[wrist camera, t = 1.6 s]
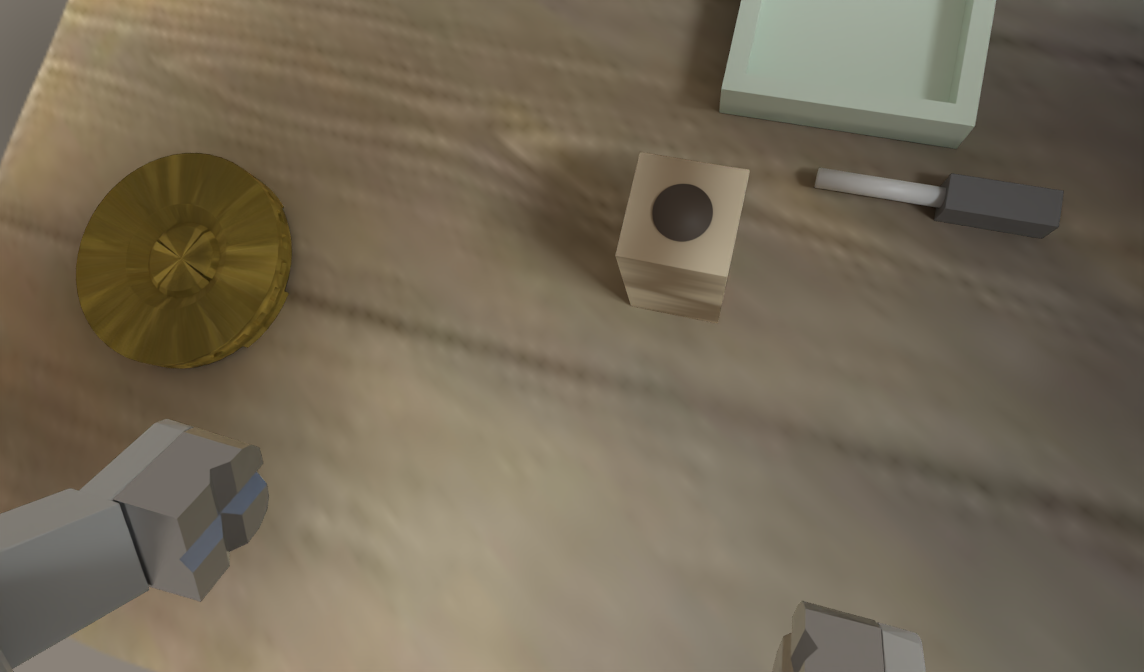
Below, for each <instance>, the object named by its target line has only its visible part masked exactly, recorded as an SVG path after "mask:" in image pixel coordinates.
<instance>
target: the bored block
mask: <svg viewBox="0 0 1144 672" xmlns="http://www.w3.org/2000/svg"><path fill="white" fill-rule="evenodd" d="M749 173H750V170H747V169H740V168H734V167H728V166H722V165H716V164H710V163H704V162H698V161H692V160H686V159H680V158H674V157H668V156H662V155H656V154H650V153H644V152H640V154H639V158H638V162H637V167H636V171H635V175H634V179H633V183H632V187H631V192H630V196H629V200H628V204H627V208H626V213H625V217H624V221H623V225H622V229H621V233H620V238H619V242H618V246H617V250H616V254H615V256H616V260H617V263H618V266H619V269H620V272H621V276H622V279H623V282H624V285H625V288H626V292H627V295H628V298H629V301H630V305H631V306H634V307H639V308H643V309H648V310H653V311H658V312H663V313H668V314H673V315H678V316H683V317H688V318H693V319H697V320H702V321H707V322H712V323H717V324H718V320H719V316H720V311H721V306H722V302H723V297H724V292H725V288H726V283H727V278H728V274H729V269H730V264H731V260H732V255H733V250H734V246H735V241H736V236H737V231H738V227H739V222H740V217H741V212H742V207H743V202H744V197H745V193H746V188H747V183H748V178H749Z"/></svg>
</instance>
